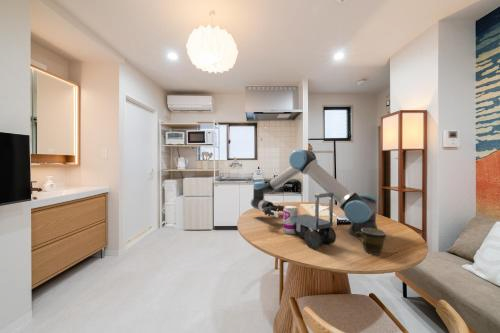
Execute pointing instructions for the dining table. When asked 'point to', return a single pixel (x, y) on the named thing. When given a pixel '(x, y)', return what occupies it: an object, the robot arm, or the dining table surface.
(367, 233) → the ceramic cup
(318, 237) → the trolley
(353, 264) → the dining table surface
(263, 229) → the dining table surface
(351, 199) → the robot arm
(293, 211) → the supplement can
